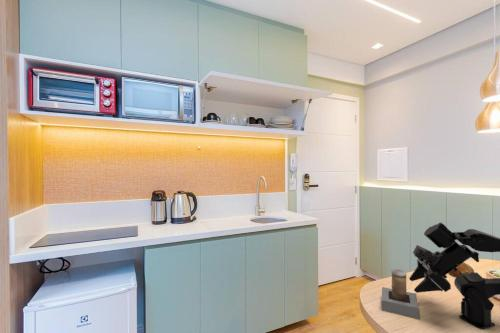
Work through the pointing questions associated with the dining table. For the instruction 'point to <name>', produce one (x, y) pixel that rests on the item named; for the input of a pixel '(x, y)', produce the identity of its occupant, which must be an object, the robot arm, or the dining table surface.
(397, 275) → the post
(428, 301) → the dining table surface
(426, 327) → the dining table surface
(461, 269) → the bread roll
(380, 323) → the dining table surface
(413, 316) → the grey square frame
